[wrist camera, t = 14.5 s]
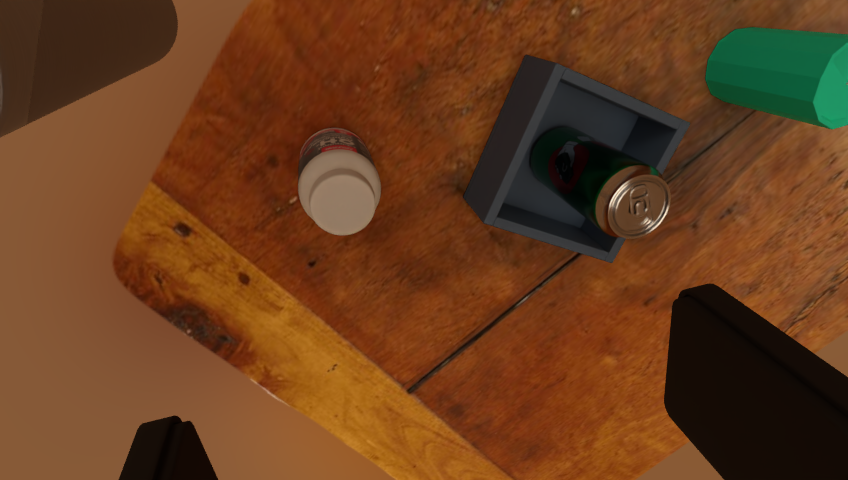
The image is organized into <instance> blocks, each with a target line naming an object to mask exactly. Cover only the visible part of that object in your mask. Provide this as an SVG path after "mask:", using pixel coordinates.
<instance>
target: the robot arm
mask: <svg viewBox="0 0 848 480" xmlns="http://www.w3.org/2000/svg"><path fill="white" fill-rule="evenodd" d="M664 404H665V408H666V411H667V413H668V415H669V416H670V418H671V419H672V420H673V421H674V423H675V424H676V425H677V426H678V427H679V428H680V429H681V431H682V432H683V433H684V434H685V435H686V436H687V438H688V439H689V440H690V441H691V442H692V443H693V444H694V446H695V447H696V448H697V449H698V450H699V451H700V452H701V454H702V455H703V456H704V457H705V458H706V459H707V460H708V461H709V463H710V464H711V465H712V466H713V467H714V469H716V471H717V472H718V473H719V474H720V475H721V476H722V478H723V479H724V480H848V377H847V376H845V375H844V374H842V373H841V372H839V371H838V370H837V369H835V368H834V367H832V366H831V365H829V364H828V363H826V362H825V361H824V360H822V359H821V358H819V357H818V356H817V355H815V354H814V353H812V352H811V351H810V350H808V349H807V348H805V347H804V346H802V345H801V344H800V343H798V342H797V341H795V340H794V339H792V338H791V337H790V336H788V335H787V334H785V333H784V332H782V331H781V330H780V329H778V328H777V327H775V326H774V325H772V324H771V323H770V322H768V321H767V320H765V319H764V318H763V317H761V316H760V315H758V314H757V313H755V312H754V311H753V310H751V309H750V308H748V307H747V306H745V305H744V304H743V303H741V302H740V301H738V300H737V299H735V298H734V297H733V296H731V295H730V294H728V293H727V292H725V291H724V290H723V289H721V288H720V287H718V286H716V285H714V284H705V285H701V286H697V287H693V288H689V289H685V290H683V291H681V292H680V294H679V297H678V299H676V300H675V301H674V302H673V306H672V316H671V327H670V338H669V350H668V361H667V372H666V383H665V395H664ZM119 480H218V478H217V476H216V474H215V472H214V470H213V467H212V465H211V463H210V461H209V458H208V456H207V454H206V452H205V449H204V447H203V445H202V443H201V441H200V438H199V436H198V434H197V432H196V429H195V428H194V425H193V424H192V422H190V421H186V422H182V421H181V419H180V418H179V417H178V416H171V417H167V418H163V419H159V420H155V421H151V422H147V423H143V424H142V425H140V426H139V428H138V430H137V432H136V435H135V438H134V441H133V443H132V446H131V448H130V451H129V454H128V456H127V459H126V462H125V464H124V467H123V470H122V472H121V475H120V478H119Z"/></svg>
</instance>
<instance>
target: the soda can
mask: <svg viewBox="0 0 848 480" xmlns="http://www.w3.org/2000/svg"><path fill="white" fill-rule="evenodd" d="M531 167H532V171H533V173H534V175H535V177H536V178H537V180H538V181H539V182H541V183H542V184H543V185H544V186H546V187H547V188H548V189H550V190H551V191H552V192H553V193H555V194H556V195H557V196H558V197H560V198H561V199H562V200H563V201H565V202H566V203H567V204H569V205H570V206H571V207H572V208H574V209H575V210H576V211H577V212H579V213H580V214H581V215H583V216H584V217H585V218H586V219H588V220H589V221H590V222H591V223H593V224H594V225H595V226H596V227H598V228H599V229H600V230H602V231H603V232H604V233H606V234H608V235H610V236H613V237H620V238H622V237H623V238H627V239H635V238H640V237H643V236H645V235H647V234H649V233H651V232H652V231H653V230H655V229H656V228H657V227H658V226H659V225H660V224H661V223H662V221H663V220H664V218H665V217H666V215H667V213H668V210H669V208H670V203H671V194H670V190H669V187H668V185H667V184H666V182H665V181H664V179H663V177H662V175H661V174H660V172H659V171H658V170H657V169H655V168H654V167H652V166H650V165H648V164H646V163H644V162H642V161H640V160H638V159H636V158H634V157H632V156H630V155H628V154H626V153H624V152H622V151H620V150H618V149H616V148H614V147H612V146H610V145H608V144H606V143H604V142H602V141H600V140H598V139H595V138H593V137H591V136H589V135H587V134H585V133H583V132H581V131H579V130H577V129H575V128H572V127H558V128H555V129H552V130H551V131H549V132H547V133H546V134H545V135H543V136H542V137H541V138H540V140H539V141H538V142H537V144H536V146H535V147H534V150H533V153H532V157H531Z"/></svg>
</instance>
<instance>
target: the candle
mask: <svg viewBox="0 0 848 480" xmlns="http://www.w3.org/2000/svg"><path fill="white" fill-rule="evenodd" d="M705 80H706V83H707V85H708V88H709V90H710V93H711V95H713V96H715V97H717V98H718V99H720V100H722V101H724V102H728V103H732V104H735V105H739V106H743V107H747V108H751V109H755V110H759V111H763V112H767V113H770V114H774V115H778V116H782V117H786V118H790V119H794V120H798V121H802V122H805V123H809V124H813V125H817V126H821V127H825V128H829V129H835V128H839V127H842V126H846V125H848V34H835V33H822V32H809V31H795V30H782V29H769V28H756V27H749V28H742V29H735V30H733V31H732V32H731V33H729V34H728V35H727V36H725V37H724V38H723V39H721V40H720V41H719V42H718V44H717V45H716V47H715V49H714V50H713V52H712V54H711V55H710V57H709V59H708V62H707V70H706V77H705Z"/></svg>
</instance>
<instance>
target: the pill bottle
mask: <svg viewBox="0 0 848 480" xmlns="http://www.w3.org/2000/svg"><path fill="white" fill-rule="evenodd" d="M298 172H299V177H298V193H299V198H300V202H301V204H302V207H303V208H304V210H305V212H306V213H307V214H308V215H309V216H310V217H311V218H312V219H313V220H314V221H315V222H316V223H317V225H318V226H319V227H320V228H322V229H323V230H325V231H326V232H329V233H331V234H335V235H350V234H354V233H356V232H358V231H360V230H362V229H363V228H364V227H366V226H367V225H368V224H369V222H370V221H371V219H372V217H373V215H374V212H375V209H376V207H377V205H378V203H379V200H380V195H381V183H380V178H379V175H378V172H377V170H376V168H375V165H374V163H373V160H372V158H371V155H370V153H369V151H368V149H367V147H366V145H365V144H364V142H363V141H362V140H361V139H360V138H359V137H358V136H357V135H355V134H354V133H352V132H350V131H348V130H345V129H341V128H327V129H323V130H321V131H318V132H317V133H315V134H313V135H312V136H311V137H310V138H309V139H308V140H307V141H306V142H305V144H304V145H303V147H302V150H301V153H300V158H299V169H298Z"/></svg>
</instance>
